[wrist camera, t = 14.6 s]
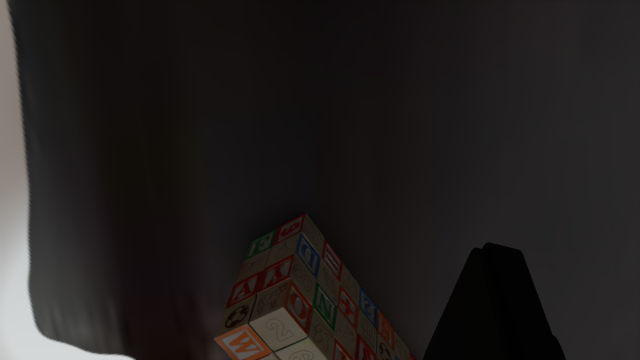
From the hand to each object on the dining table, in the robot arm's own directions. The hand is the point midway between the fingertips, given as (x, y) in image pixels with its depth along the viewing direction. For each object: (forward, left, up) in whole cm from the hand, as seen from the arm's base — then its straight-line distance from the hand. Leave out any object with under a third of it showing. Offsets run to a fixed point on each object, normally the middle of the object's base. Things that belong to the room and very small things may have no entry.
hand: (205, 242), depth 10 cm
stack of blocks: (-8, +29, -33) cm, 45 cm away
